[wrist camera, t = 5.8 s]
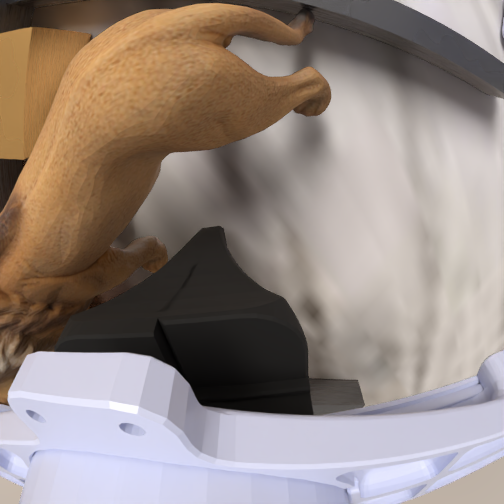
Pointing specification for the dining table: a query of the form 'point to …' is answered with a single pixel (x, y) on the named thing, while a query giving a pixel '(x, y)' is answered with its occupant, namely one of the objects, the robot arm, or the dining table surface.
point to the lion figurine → (129, 155)
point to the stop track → (319, 3)
